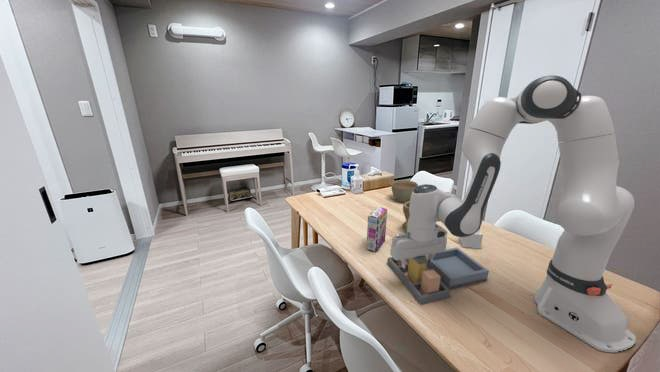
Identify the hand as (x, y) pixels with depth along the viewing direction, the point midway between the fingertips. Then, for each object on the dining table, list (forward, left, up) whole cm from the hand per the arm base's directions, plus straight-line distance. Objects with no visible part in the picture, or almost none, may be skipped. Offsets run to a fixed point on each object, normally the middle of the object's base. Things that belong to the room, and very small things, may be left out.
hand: (416, 265), depth 95 cm
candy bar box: (+24, +4, -6) cm, 25 cm away
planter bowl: (+68, -35, -6) cm, 77 cm away
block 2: (-9, 0, -6) cm, 10 cm away
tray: (-1, -16, -6) cm, 17 cm away
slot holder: (-1, 0, -6) cm, 6 cm away
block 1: (+7, 0, -6) cm, 9 cm away
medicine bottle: (+13, -36, -6) cm, 39 cm away
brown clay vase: (+30, -20, -6) cm, 37 cm away
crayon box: (+18, -9, -6) cm, 21 cm away
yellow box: (-1, 0, -6) cm, 6 cm away
